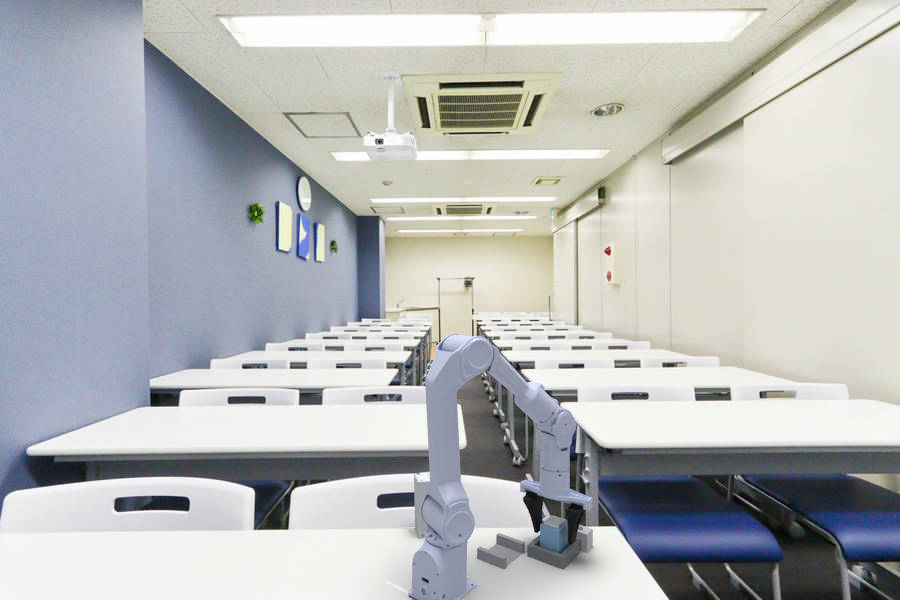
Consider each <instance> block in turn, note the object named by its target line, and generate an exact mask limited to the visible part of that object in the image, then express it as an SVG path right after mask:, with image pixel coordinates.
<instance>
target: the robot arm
mask: <svg viewBox="0 0 900 600" xmlns="http://www.w3.org/2000/svg"><path fill="white" fill-rule="evenodd" d="M434 349H435V350H434V352H435V353H434V358H433V360H432V363H431V365H430V367H429V370H428V372H427V375H426V378H425V381H424V382H425V383H424V384H425V385H424V388H425V401H426V402H425V404H426V422H427V423H426V428H427V440H428V441H427V445H428V446H427V447H428V448H427V449H428V464H429V465H428V466H429V468H428V469H429V472H430V482H428V483H427V484H426V485H425V486H424V496H423V500H422V502H421V506H420V514H421V517H422V519H423V521H424V522H425V523H426V537H425V538H424V541H423V543H422V545H421V546H420V548H419V549H418V550H417V551H416V552H415V553H414V555H413V557H412V562H411V563H412V567H411V574H412V575H411V577H412V578H411V589H410V590H408V593H407V594H408V596H410V597H412V598H414V599H415V600H462V598H464V597H465V596H466V595H467V594H469V593H470V592H472V591H473V590H474V589H475V588H476V587H477V586H478V583H476V582H475V581H473V580H471V579H468V577H467V576H468V574H467V573H468V570H467V569H468V540H469V539H470V538H471V536H473V535H472V534H473V532H474V531H475V524H476V522H475V521H476V520H475V515H474V514H473V512H472V510H471V508H470V504H469V503H470V499H469V497H468V493H467V492H466V490H465V487H464V486H463V483H462V474H461V456H460V453H461V450H460V436H459V435H460V431H459V429H460V428H459V413H458V412H459V411H458V410H459V409H458V391H459V390H460V389H461V388H462V387H463V385H465V384H466V383H467V382H468V381H470V380H472V379H474V378H476V377H477V376H478V375H481V374H482V373H484V372H486V373H488V374H489V375H490V376H491V377H492V378H494V379H495V380H496V381H498V382H499V383H500V384H501V385H502V386H503V387H505V389H507V390H508V391H509V392H511V393H512V394H513V395H514V404H515V406H517V407H518V408H519V409H520V410H521V411H522V412H523V413H524V414H526V416H528V417H529V419H531V420H532V421H533V424H534V425H533V426H534V428H535V429H536V430H538V431H539V434H540V435H539V436H540V437H539V439H540V440H539V442H540V444H539V449H540V450H539V452H540V453H539V456H540V457H539V481H533V480H532V481H531V480H527V479H524V480H522V481H520V482H519V492H521V493H524V494H525V495H524V496H523V498H522V500H523V501H522V502H523V503H524V506H525V507H526V509H527V511H528V513H529V517H530V520H531V523H532V527H533V528H532V529H533V532H534V533H536V534H538V533H540V524H541V523H542V519H543V508H544V500H545V498H546V499H550V500H554V501H557V502H561V503H563V504H564V503H565V504H568V505H570V506H568V507H567V508H566V509H565V516H566V520H567V523H568V544H571V545H572V544H573V543H574V542H575V541H576V536H577V531H578V528H579V525H581V521H582V520H583V518H584V515H585V513H586V512H587V511H588V512H589V511H590V510H591V509H592V508H593V497H591V496H588V495H586V494H583V493H581V492H580V491H577V490H574V489H572V488H570V486H571V485H570V478H571V477H570V476H571V473H570V471H571V470H570V468H571V467H570V466H571V465H570V461H571V460H570V457H571V456H570V454H571V452H570V450H571V449H570V448H571V445H572V444H573V436H574V434H575V432H576V429H577V425H578V424H577V421H575V420H576V419H575V417H574V416H573V414H572V412H571V411H570V410H569V409H567V408H563V407H561V406H560V405H559V401H558V400H557V399H556V398H553V397H551V396H550V395H549V394H548V393H547V392H546V391H545V390H544V389H545V386H544V385H543V384H542V383H540V382H535V381H528V382H527V381H526V380H525V379H524V378H523V377H522V375H521V374H520V373H519V372H518V371H517V370H516V369H515V368H514V366H513V365H511V364H510V363H509V361H508V360H507V359H506V358H505V357H504V355H502V354H501V353H500V352H501V351H500V350H499V348H498V347H497V346H495V345H493V344H492V343H491V342H490V341H489V340H488V339H487V338H485V337H484V336H480V335H475V336H473V335H463V334H459V333H450V334H448V335H446V336H445V337H443V339H441V341H440V342H439V343H438V344H437V345H436V346H435V348H434Z"/></svg>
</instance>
